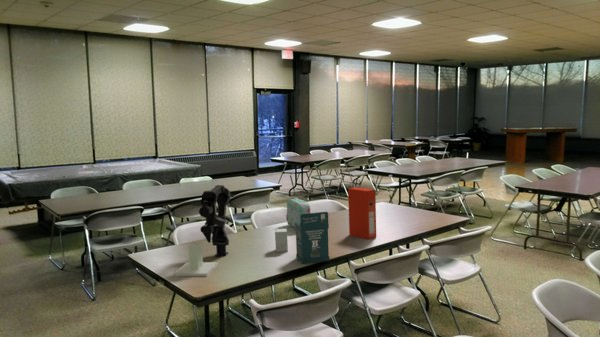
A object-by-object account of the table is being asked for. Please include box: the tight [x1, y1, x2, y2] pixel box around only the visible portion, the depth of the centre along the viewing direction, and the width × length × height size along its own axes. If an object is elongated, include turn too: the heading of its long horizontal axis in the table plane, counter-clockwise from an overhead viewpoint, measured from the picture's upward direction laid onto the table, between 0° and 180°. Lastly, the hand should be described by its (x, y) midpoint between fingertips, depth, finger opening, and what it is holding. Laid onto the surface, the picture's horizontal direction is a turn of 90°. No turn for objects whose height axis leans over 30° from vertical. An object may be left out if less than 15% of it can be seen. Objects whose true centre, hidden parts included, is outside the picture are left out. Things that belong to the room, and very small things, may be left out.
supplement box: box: [274, 228, 289, 253], centre depth 274 cm, size 7×7×13 cm
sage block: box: [188, 242, 204, 269], centre depth 242 cm, size 5×5×13 cm
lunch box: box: [285, 197, 311, 230], centre depth 331 cm, size 27×10×21 cm, turn 25°
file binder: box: [347, 186, 377, 240], centre depth 300 cm, size 8×17×32 cm, turn 39°
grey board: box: [173, 261, 219, 277], centre depth 243 cm, size 18×18×2 cm
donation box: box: [295, 211, 331, 265], centre depth 256 cm, size 16×16×28 cm
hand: (212, 240), depth 254 cm, fingers open, 9 cm apart
